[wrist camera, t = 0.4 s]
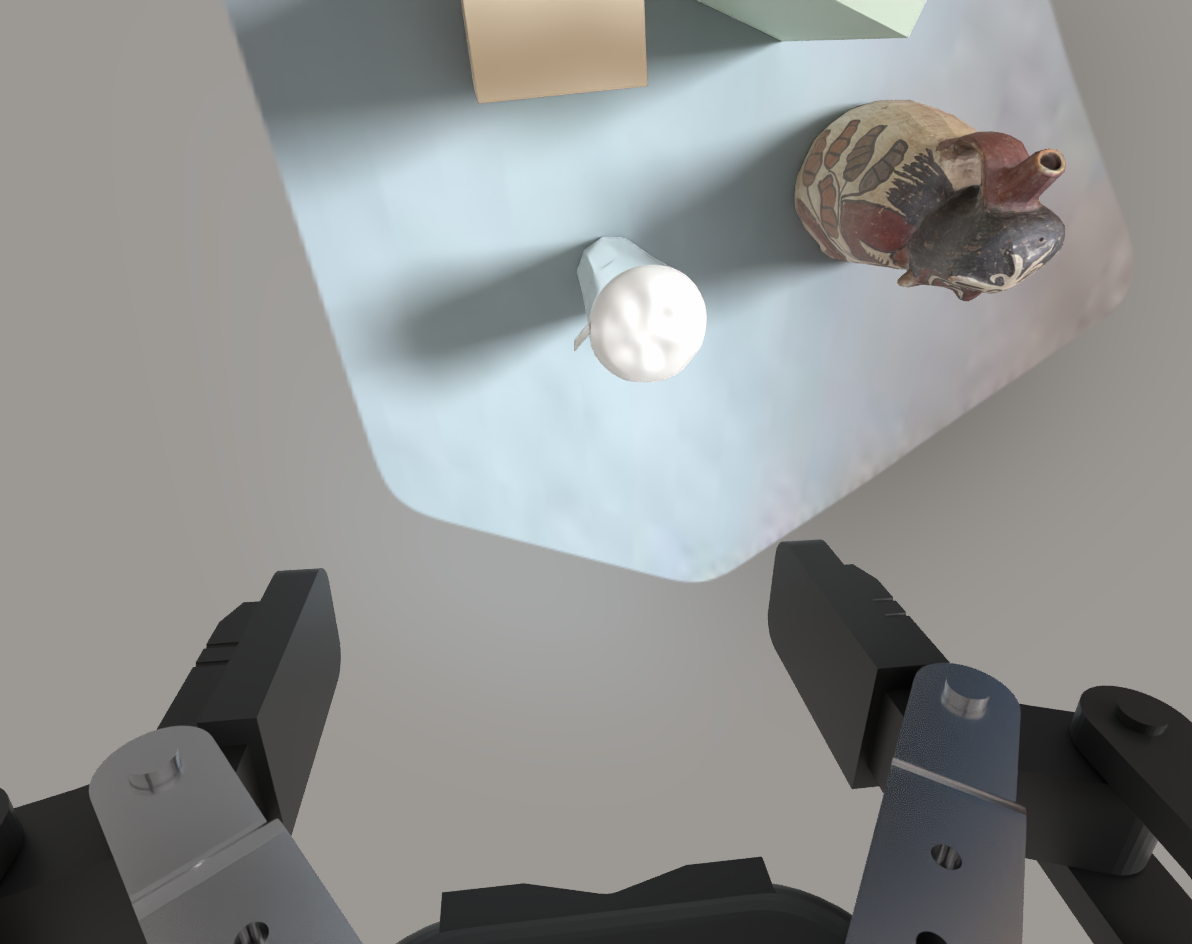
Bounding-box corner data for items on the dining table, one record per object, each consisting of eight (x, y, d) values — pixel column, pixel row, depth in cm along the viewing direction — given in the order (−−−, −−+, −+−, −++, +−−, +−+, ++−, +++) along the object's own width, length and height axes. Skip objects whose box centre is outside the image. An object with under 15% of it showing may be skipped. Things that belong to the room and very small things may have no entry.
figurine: (781, 259, 35) (912, 346, 25) (807, 95, 31) (974, 118, 21) (915, 258, 36) (1094, 340, 26) (955, 99, 32) (1181, 122, 22)
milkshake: (546, 218, 32) (576, 279, 24) (661, 221, 33) (731, 281, 24) (545, 317, 34) (572, 404, 26) (652, 317, 35) (713, 401, 27)
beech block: (450, -65, 26) (445, -118, 18) (583, -75, 27) (639, -132, 18) (473, 88, 29) (478, 103, 21) (594, 75, 30) (647, 85, 21)
